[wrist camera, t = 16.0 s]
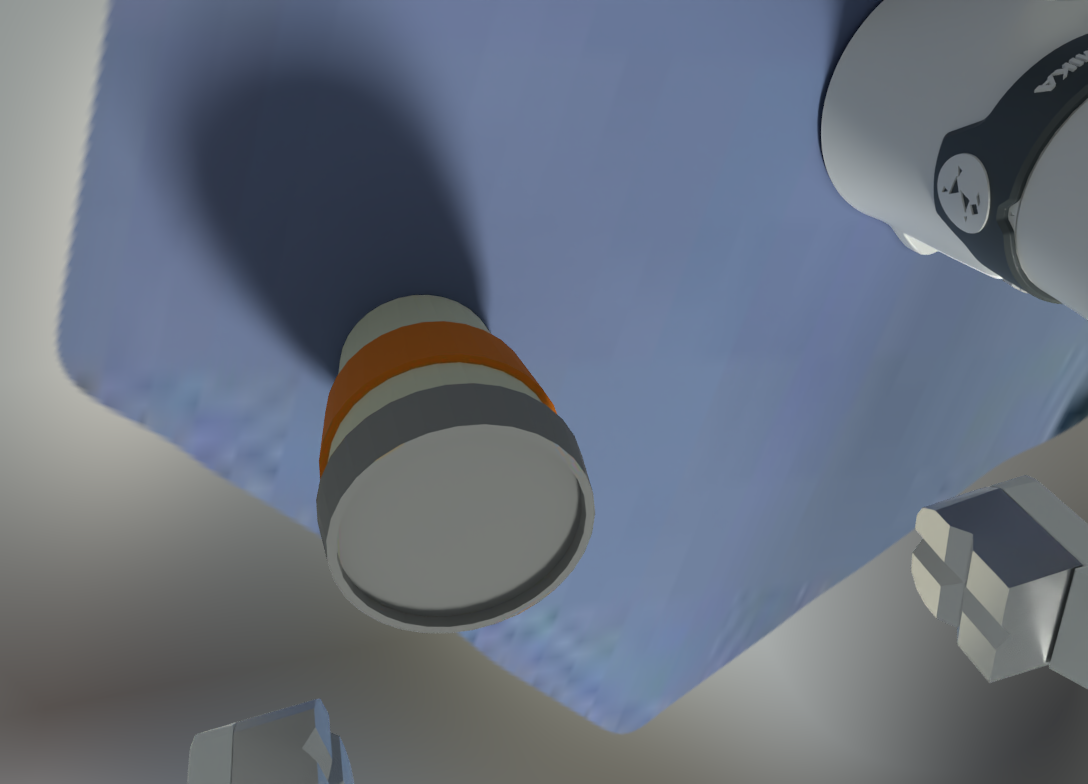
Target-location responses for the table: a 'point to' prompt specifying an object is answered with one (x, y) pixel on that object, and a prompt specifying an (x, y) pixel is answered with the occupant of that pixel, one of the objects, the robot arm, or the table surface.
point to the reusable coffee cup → (445, 474)
